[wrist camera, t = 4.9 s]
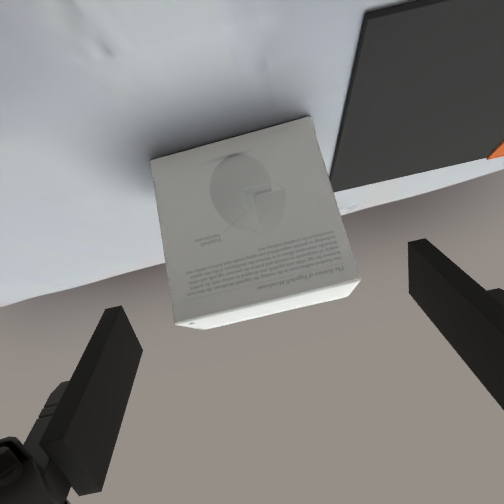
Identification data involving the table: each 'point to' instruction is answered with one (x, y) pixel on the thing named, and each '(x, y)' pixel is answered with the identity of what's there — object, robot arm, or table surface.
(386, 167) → the corner mat
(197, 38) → the table surface
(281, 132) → the cosmetics box
